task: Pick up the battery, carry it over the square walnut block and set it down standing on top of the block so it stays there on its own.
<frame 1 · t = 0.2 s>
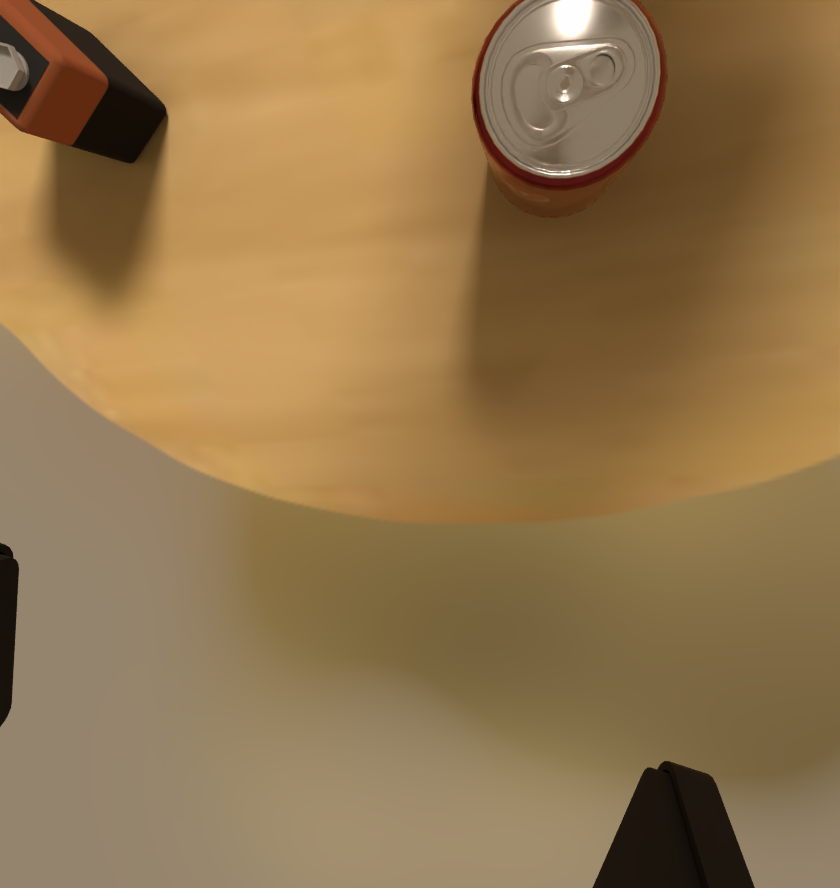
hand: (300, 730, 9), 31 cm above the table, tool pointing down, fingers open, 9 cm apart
soda can: (555, 150, 34), on the table
battery: (114, 101, 38), on the table
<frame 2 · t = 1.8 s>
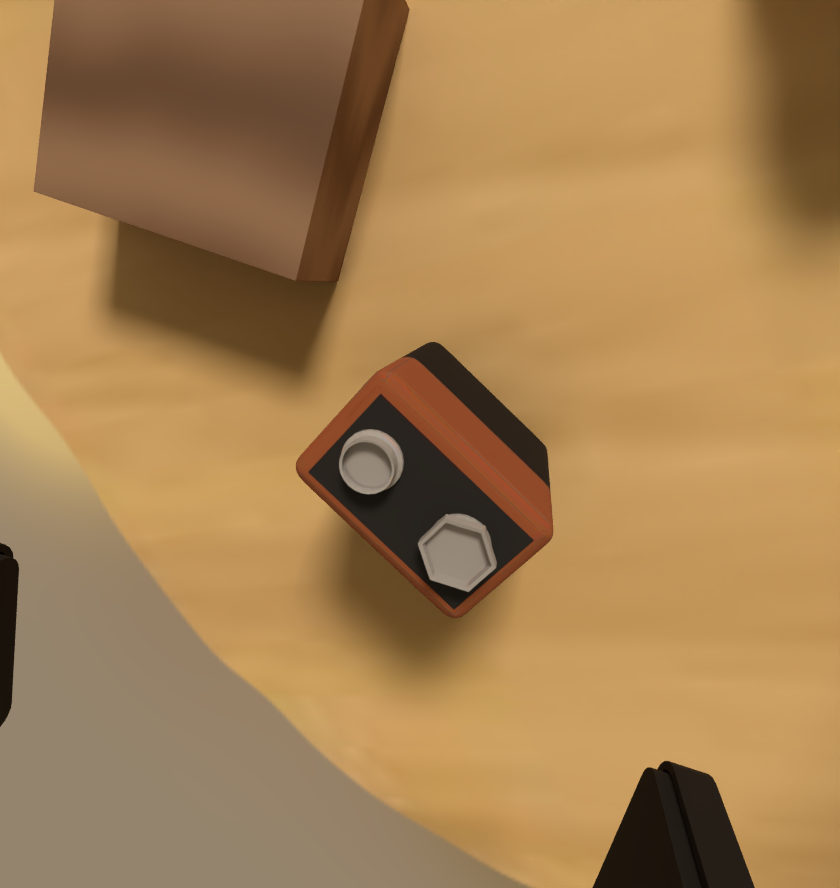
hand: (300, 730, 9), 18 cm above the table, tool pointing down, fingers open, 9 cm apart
battery: (458, 427, 26), on the table
walnut block: (256, 117, 24), on the table
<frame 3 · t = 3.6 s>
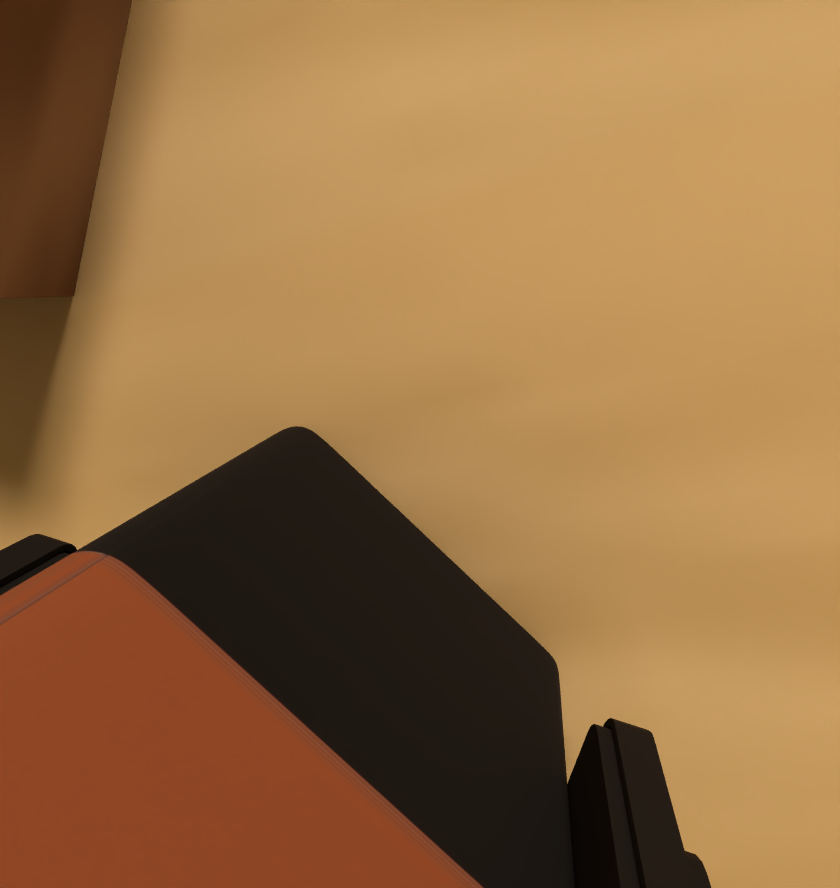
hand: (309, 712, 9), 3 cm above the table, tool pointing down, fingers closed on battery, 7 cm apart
battery: (366, 602, 12), on the table, touching gripper
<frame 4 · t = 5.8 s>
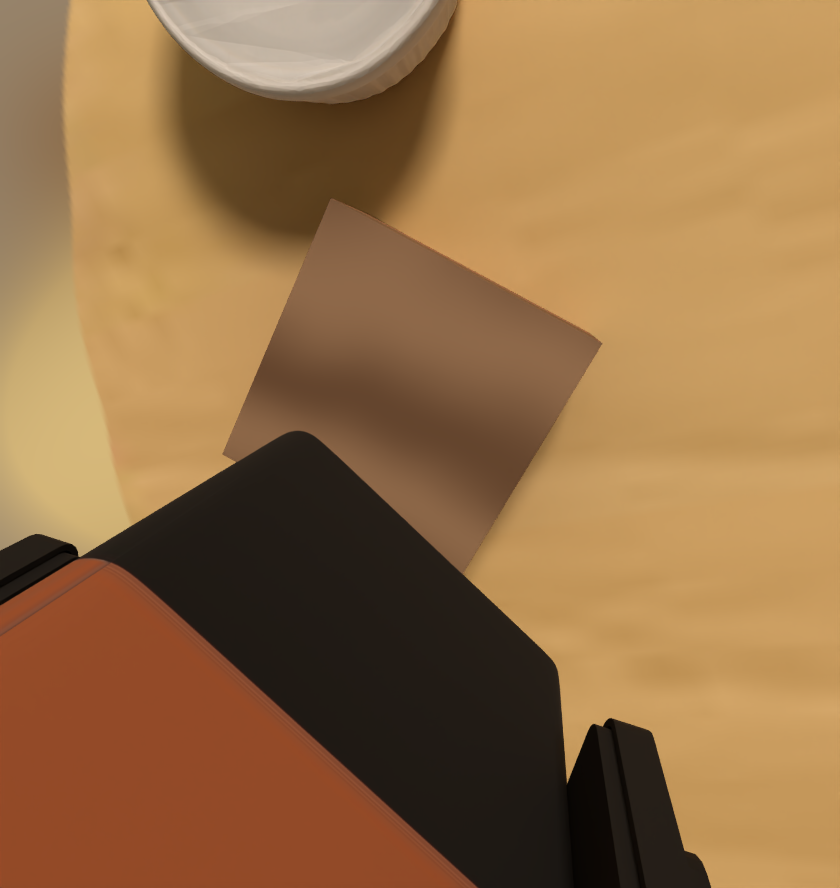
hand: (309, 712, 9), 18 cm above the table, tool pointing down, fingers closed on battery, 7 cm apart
battery: (366, 605, 12), point 15 cm above the table, touching gripper
walnut block: (421, 381, 26), on the table
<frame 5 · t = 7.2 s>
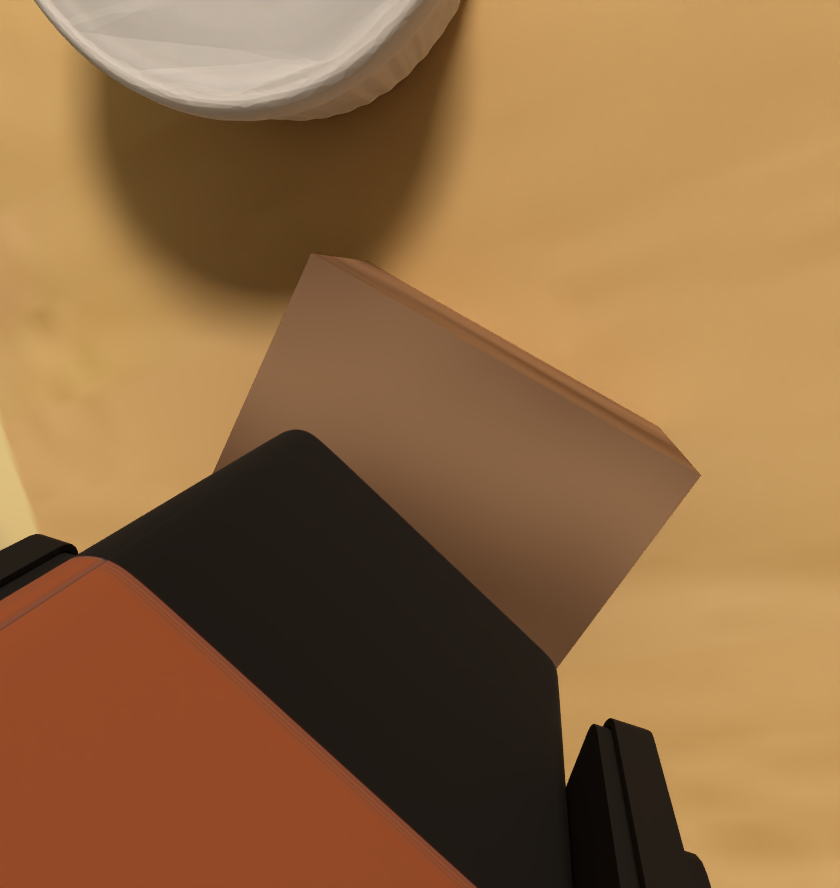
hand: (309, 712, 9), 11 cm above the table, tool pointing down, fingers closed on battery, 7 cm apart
battery: (365, 604, 12), point 8 cm above the table, touching gripper
walnut block: (433, 477, 20), on the table
when the fingers open (9 cm above the table, at t = 8.2 s): battery drops 2 cm, point 4 cm above the table.
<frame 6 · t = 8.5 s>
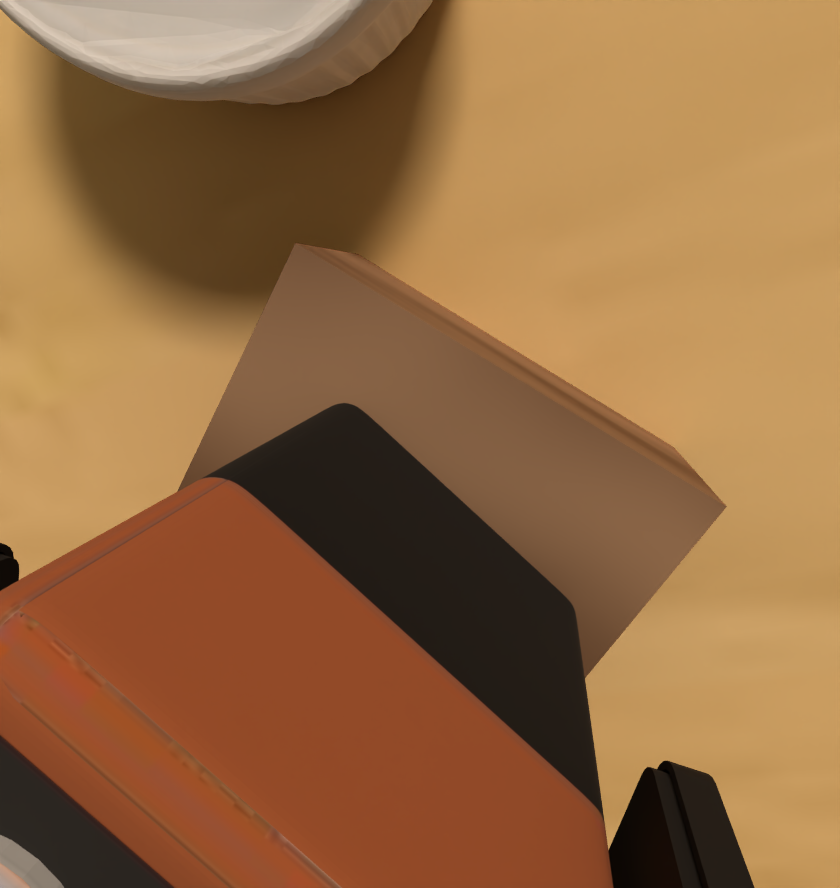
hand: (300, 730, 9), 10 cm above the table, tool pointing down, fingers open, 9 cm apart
battery: (403, 560, 14), point 4 cm above the table
walnut block: (425, 491, 18), on the table
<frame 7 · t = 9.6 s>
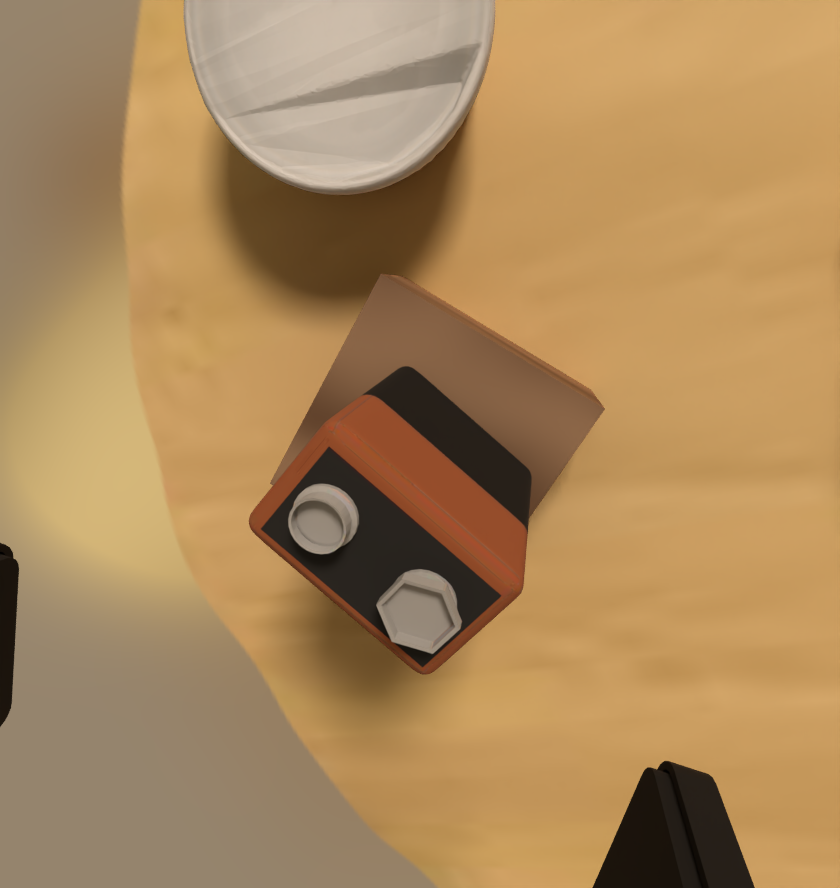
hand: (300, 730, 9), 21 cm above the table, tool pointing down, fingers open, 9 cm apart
ramekin: (368, 70, 26), on the table
battery: (438, 452, 25), point 5 cm above the table, touching walnut block
walnut block: (442, 422, 30), on the table, touching battery
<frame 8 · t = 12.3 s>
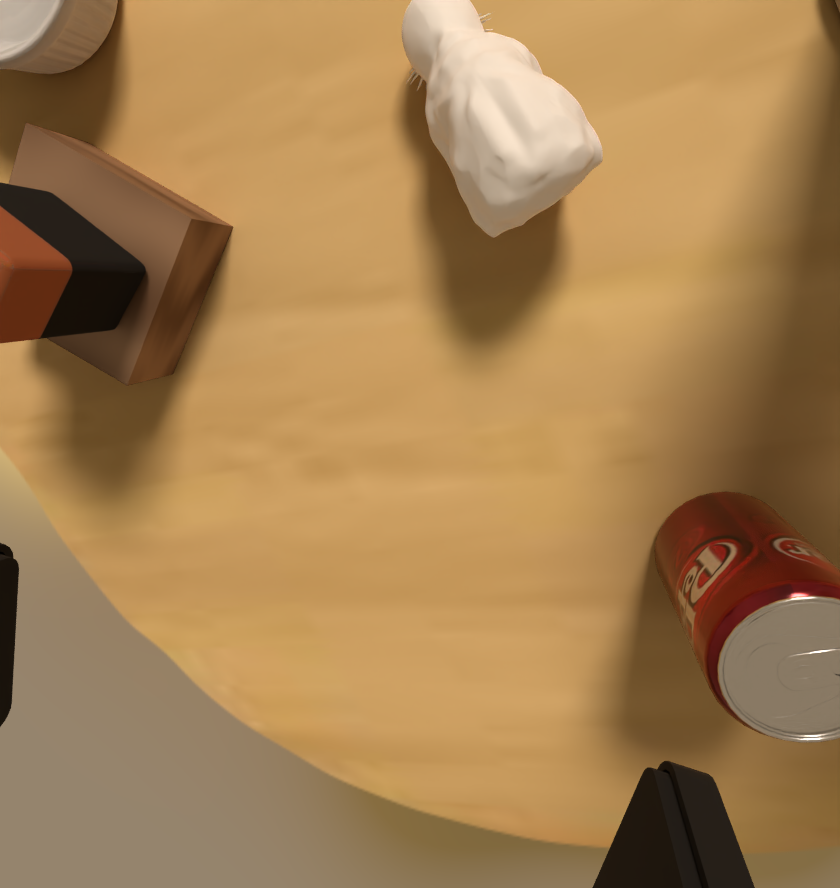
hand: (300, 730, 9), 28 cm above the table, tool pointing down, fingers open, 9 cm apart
white lumpy figurine: (489, 123, 32), on the table
soda can: (717, 545, 36), on the table
battery: (87, 262, 33), point 4 cm above the table
walnut block: (135, 262, 38), on the table
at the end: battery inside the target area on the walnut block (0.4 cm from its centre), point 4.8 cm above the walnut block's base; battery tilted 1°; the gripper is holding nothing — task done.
